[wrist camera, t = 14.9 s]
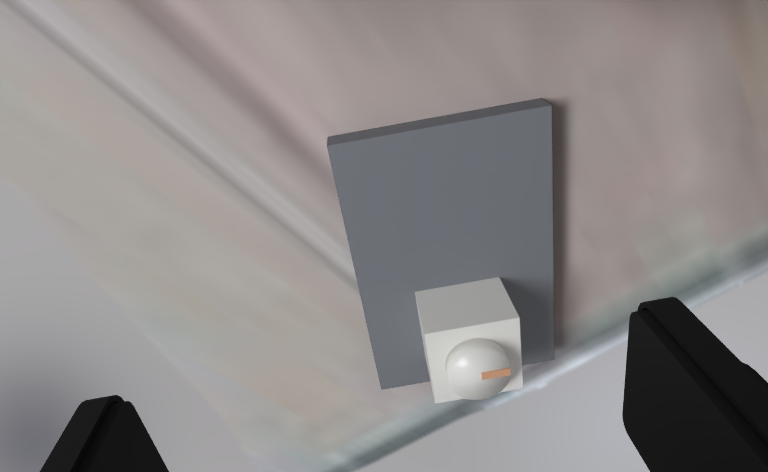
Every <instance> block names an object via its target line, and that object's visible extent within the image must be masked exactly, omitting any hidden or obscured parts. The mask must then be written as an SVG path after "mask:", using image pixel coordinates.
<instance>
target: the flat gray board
mask: <svg viewBox="0 0 768 472" xmlns="http://www.w3.org/2000/svg"><path fill="white" fill-rule="evenodd" d="M327 148H328V153H329V157H330V162H331V166H332V171H333V175H334V180H335V184H336V188H337V193H338V197H339V202H340V206H341V211H342V215H343V220H344V224H345V229H346V233H347V238H348V242H349V247H350V251H351V256H352V260H353V265H354V269H355V274H356V278H357V282H358V287H359V291H360V296H361V300H362V305H363V309H364V314H365V318H366V323H367V327H368V332H369V336H370V341H371V345H372V350H373V354H374V359H375V363H376V368H377V372H378V376H379V381H380V385H381V390H382V389H388V388H394V387H399V386H405V385H411V384H416V383H422V382H428V381H430V376H429V372H428V367H427V362H426V358H425V352H424V346H423V339H422V333H421V327H420V321H419V315H418V308H417V302H416V296H415V292H417V291H423V290H429V289H434V288H440V287H446V286H451V285H457V284H463V283H468V282H474V281H480V280H485V279H491V278H497V277H499V278H500V280H501V282H502V284H503V286H504V288H505V290H506V292H507V294H508V296H509V298H510V300H511V302H512V304H513V306H514V308H515V310H516V312H517V314H518V316H519V318H520V338H521V359H522V365H525V364H531V363H536V362H542V361H548V360H553V359H554V273H553V181H552V105H551V104H549V103H548V102H546V101H545V100H543V99H542V98H540V99H534V100H529V101H523V102H518V103H512V104H507V105H501V106H496V107H490V108H485V109H479V110H474V111H468V112H463V113H457V114H452V115H446V116H441V117H435V118H430V119H424V120H418V121H413V122H407V123H402V124H396V125H391V126H385V127H380V128H374V129H369V130H363V131H358V132H352V133H347V134H341V135H336V136H330V137H328V140H327Z"/></svg>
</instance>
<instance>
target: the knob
mask: <svg viewBox="0 0 768 472" xmlns="http://www.w3.org/2000/svg"><path fill="white" fill-rule="evenodd" d="M415 296H416V302H417V308H418V315H419V321H420V327H421V333H422V339H423V346H424V352H425V358H426V362H427V367H428V372H429V376H430V381H431V386H432V391H433V395H434V400H435V404H436V403H441V402H447V401H453V400H459V399H465V398H466V399H470V400H480V399H486V398H489V397H492V396H494V395H496V394H498V393H499V392H505V391H511V390H516V389H522V388H523V380H522V359H521V338H520V318H519V316H518V314H517V312H516V310H515V308H514V306H513V304H512V302H511V300H510V298H509V296H508V294H507V292H506V290H505V288H504V286H503V284H502V282H501V280H500V278H499V277H497V278H491V279H485V280H480V281H474V282H468V283H463V284H457V285H451V286H446V287H440V288H434V289H429V290H423V291H417V292H415Z"/></svg>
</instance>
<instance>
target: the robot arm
mask: <svg viewBox="0 0 768 472" xmlns="http://www.w3.org/2000/svg"><path fill="white" fill-rule="evenodd" d="M623 422H624V426H625V429H626V431H627V433H628V435H629V437H630V439H631V441H632V442H633V444H634V445H635V447H636V449H637V450H638V452H639V454H640V455H641V457H642V459H643V460H644V462H645V464H646V465H647V467H648V469H649V470H650V472H768V383H767V382H766V381H765V380H764V379H763V378H762V377H761V376H760V375H759V374H758V373H757V372H756V371H755V370H754V369H752V368H751V367H750V366H749V365H747V364H745V363H742V362H741V361H740V360H739V359H738V358H737V357H736V356H735V355H734V354H733V353H732V352H731V351H730V350H729V349H728V348H727V347H726V346H725V345H724V344H723V343H722V342H721V341H720V340H719V339H718V338H717V337H716V336H715V335H714V334H713V333H712V332H711V331H710V330H709V329H708V328H707V327H706V326H705V325H704V324H703V323H702V322H701V321H700V320H699V319H698V318H697V317H696V316H695V315H694V314H693V313H692V312H691V311H690V310H689V309H688V308H687V307H686V306H685V305H684V304H683V303H682V302H681V301H680V300H678V299H677V298H674V297H670V298H664V299H658V300H653V301H647V302H643V303H640V305H639V307H638V311H637V312H633V313H631V315H630V321H629V334H628V348H627V361H626V375H625V388H624V402H623ZM40 472H169V471H168V469H167V467H166V465H165V464H164V462H163V460H162V458H161V456H160V454H159V453H158V451H157V449H156V447H155V445H154V443H153V441H152V439H151V438H150V436H149V434H148V432H147V430H146V428H145V426H144V425H143V423H142V421H141V419H140V417H139V415H138V413H137V412H136V410H135V408H134V406H133V405H132V403H131V402H129V401H126V402H124V400H123V399H122V398H121V397H120V396H118V395H114V396H108V397H102V398H97V399H91V400H86V401H84V402H82V403H81V404H80V405H79V407H78V408H77V410H76V411H75V413H74V415H73V416H72V418H71V420H70V421H69V423H68V425H67V427H66V428H65V430H64V432H63V433H62V435H61V437H60V438H59V440H58V442H57V443H56V445H55V447H54V449H53V450H52V452H51V454H50V455H49V457H48V459H47V460H46V462H45V464H44V466H43V467H42V469H41V471H40Z"/></svg>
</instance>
